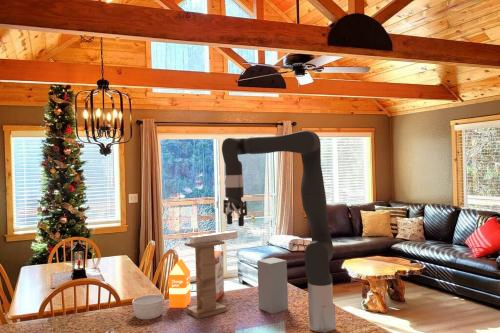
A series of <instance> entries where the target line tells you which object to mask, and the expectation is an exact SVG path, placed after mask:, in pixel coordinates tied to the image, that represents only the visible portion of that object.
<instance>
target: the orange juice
mask: <svg viewBox="0 0 500 333" xmlns="http://www.w3.org/2000/svg"><path fill="white" fill-rule="evenodd" d="M168 292H169V294H168V295H169V296H168V298H169V308H188V306H187V305H190V302H192V301H191V300H192V298H191V270H190V269H189V267H188V266H187V265H186V263H185V262H184V261H183V259H182V258H181V259H179V260H178V261H177V262H176V263H175V265H174V266H173V268H172V269H171V271H170V272H169V274H168Z"/></svg>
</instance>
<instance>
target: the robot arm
mask: <svg viewBox="0 0 500 333" xmlns="http://www.w3.org/2000/svg"><path fill="white" fill-rule="evenodd" d="M321 145H322V144H321V140H320V137H319V135H318V134H317V133H316V132H314V131H312V130H306V129H303V130H301V131H297V132H292V133H288V134H281V135H263V136H261V135H260V136H259V135H258V136H250V137H238V138H237V137H227V138H225V139H224V140H223V141H222V144H221V153H222V154H221V155H222V158H223V162H224V165H225V167H224V170H225V171H224V174H225V179H224V187H225V188H224V190H225V191H224V192H225V199H223V214H225V216H226V224H227V225H233V213H234V212H235V213H236V214H237V216H238V217H237V218H238V219H237V224H238V225H237V226H238V227H244V226H245V218H244V217H246V216H247V215H248V207H247V206H248V204H247V200H243V199H242V198H244V196H245V195H244V178H243V164H242V162H241V161H240V160H239V155H259V154H260V155H261V154H263V155H264V154H269V153H270V154H271V153H277V152H284V153H285V152H288V153H294V154H295V153H297V154H300V156H301V163H302V175H301V176H302V177H301V181H300V182H301V184H300V194H301V195H300V196H301V203H302V209H303V212H304V214H305V216H306V218H307V221H308V223H309V226H310V232H311V233H310V234H311V242H310V243H309V244H307V245H306V247H305V250H304V263H305V264H304V268H305V275H306V278H307V294H308V295H307V296H308V297H307V298H308V299H307V300H308V328H309V330H311V331H314V332H317V333H329V332H331V331H335V330H336V329H337V326H336V325H337V324H336V322H337V321H336V304H335V303H334V294H333V292H334V290H333V289H334V288H333V287H334V286H333V275H332V274H331V273H330V264H329V262H330V261H331V260H332V258H333V256H334V253H335V250H334V244H333V239H332V236H331V231H330V225H329V214H328V207H327V206H328V205H327V196H326V189H325V181H324V176H323V171H322V170H323V168H322V160H321V159H322V158H321V154H322V152H321Z"/></svg>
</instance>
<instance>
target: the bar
mask: <svg viewBox="0 0 500 333" xmlns="http://www.w3.org/2000/svg"><path fill="white" fill-rule="evenodd" d="M234 239H238V231H237V230H229V231H228V230H227V231H220V232H214V233H206V234H198V235H191V236H189V242H190V244H194V245H195V244H202V243H208V242H215V241H228V240H234Z"/></svg>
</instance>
